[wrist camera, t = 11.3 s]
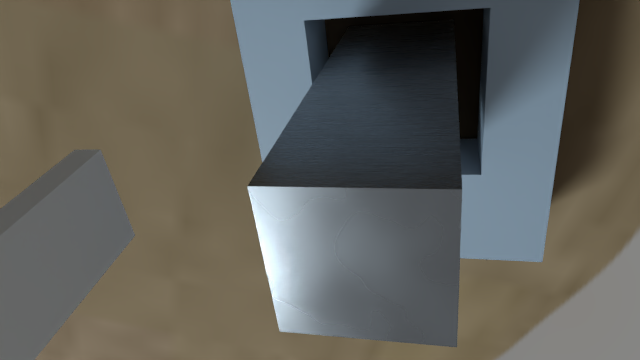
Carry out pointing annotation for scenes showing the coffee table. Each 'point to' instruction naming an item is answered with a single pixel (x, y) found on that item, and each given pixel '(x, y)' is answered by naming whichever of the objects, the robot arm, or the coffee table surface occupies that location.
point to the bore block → (494, 101)
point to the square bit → (369, 192)
